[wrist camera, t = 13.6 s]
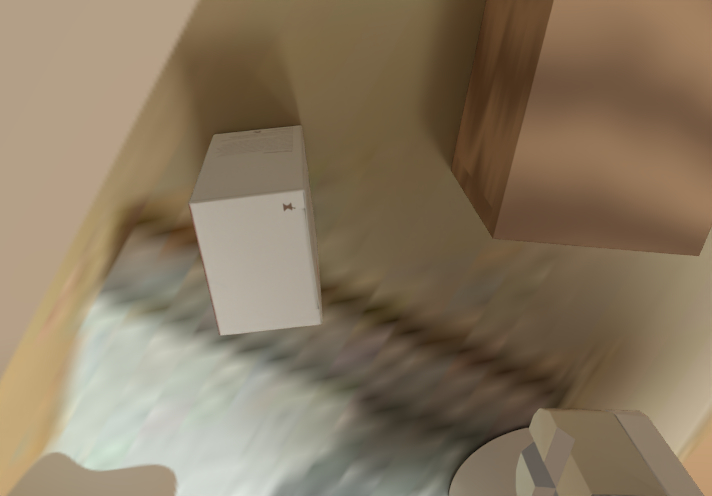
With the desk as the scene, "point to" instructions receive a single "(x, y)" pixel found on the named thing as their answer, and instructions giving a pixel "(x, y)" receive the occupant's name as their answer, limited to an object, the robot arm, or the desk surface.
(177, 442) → the desk surface
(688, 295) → the desk surface
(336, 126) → the desk surface
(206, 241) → the small box
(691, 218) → the shelf
